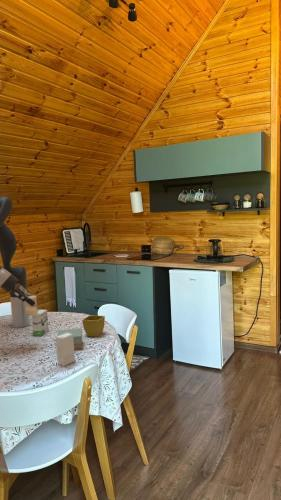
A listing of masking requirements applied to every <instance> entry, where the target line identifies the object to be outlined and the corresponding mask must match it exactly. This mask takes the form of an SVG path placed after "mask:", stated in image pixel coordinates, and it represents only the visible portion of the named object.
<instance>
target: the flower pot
mask: <svg viewBox="0 0 281 500" xmlns="http://www.w3.org/2000/svg"><path fill="white" fill-rule="evenodd" d="M105 317H106V316H105V315H94V314H89V315H88V316H86V317H85V318H83V319H81V322H82V326H83V330H84V332H85V334H86V335H87V336H88V337H96V338H97V337H99V336H100V335H101V334H102V333H103V331H104V327H105V320H106V318H105Z"/></svg>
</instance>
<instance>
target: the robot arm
mask: <svg viewBox="0 0 281 500" xmlns="http://www.w3.org/2000/svg"><path fill="white" fill-rule="evenodd" d="M12 210H13V201H12V199H11V198H10V197H8V196H0V257H1V261H2V266H1V265H0V288H1V289H2V290H3V291H5V293H9V299H10V310H11V319H12V320H11V321H12V327H13V328H15V329H17V328H19V329H20V328H26V327H29V326H30V325H31V321H30V320H31V319H30V315H29V316H26V304H25V302H27V303H28V304H30V305H31V306H33V305H34V304H35V302H34V301H33V300H32V299H30V298H29V297H28V296H32V295H31V292H30V291H29V290H28V285H27V284H28V283H27V282H28V281H27V280H28V279H27V270H26V268H25V267H24V266H11V262H12V260H13V257H14V255H15V254H16V251H17V248H18V243H17V240H16V235H15V233H14V232H13V231H12V229H11V228H10V227H9V226H8V224H6V223H5V222H6V221H7V218H8V217H9V216H10V215H11V212H12Z"/></svg>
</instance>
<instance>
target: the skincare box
mask: <svg viewBox="0 0 281 500" xmlns="http://www.w3.org/2000/svg"><path fill="white" fill-rule="evenodd" d="M55 341H56V343H55V344H56V345H55V346H56V356H57V357H56V358H57V364H58V365H60V366H63V367H64V366H68V365H69V364H72V363H73V362H75V361H76V358H75V357H76V355H75V350H74V342H73V334H70V333H65V334H62V335H59V336H57V335H56V336H55Z"/></svg>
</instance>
